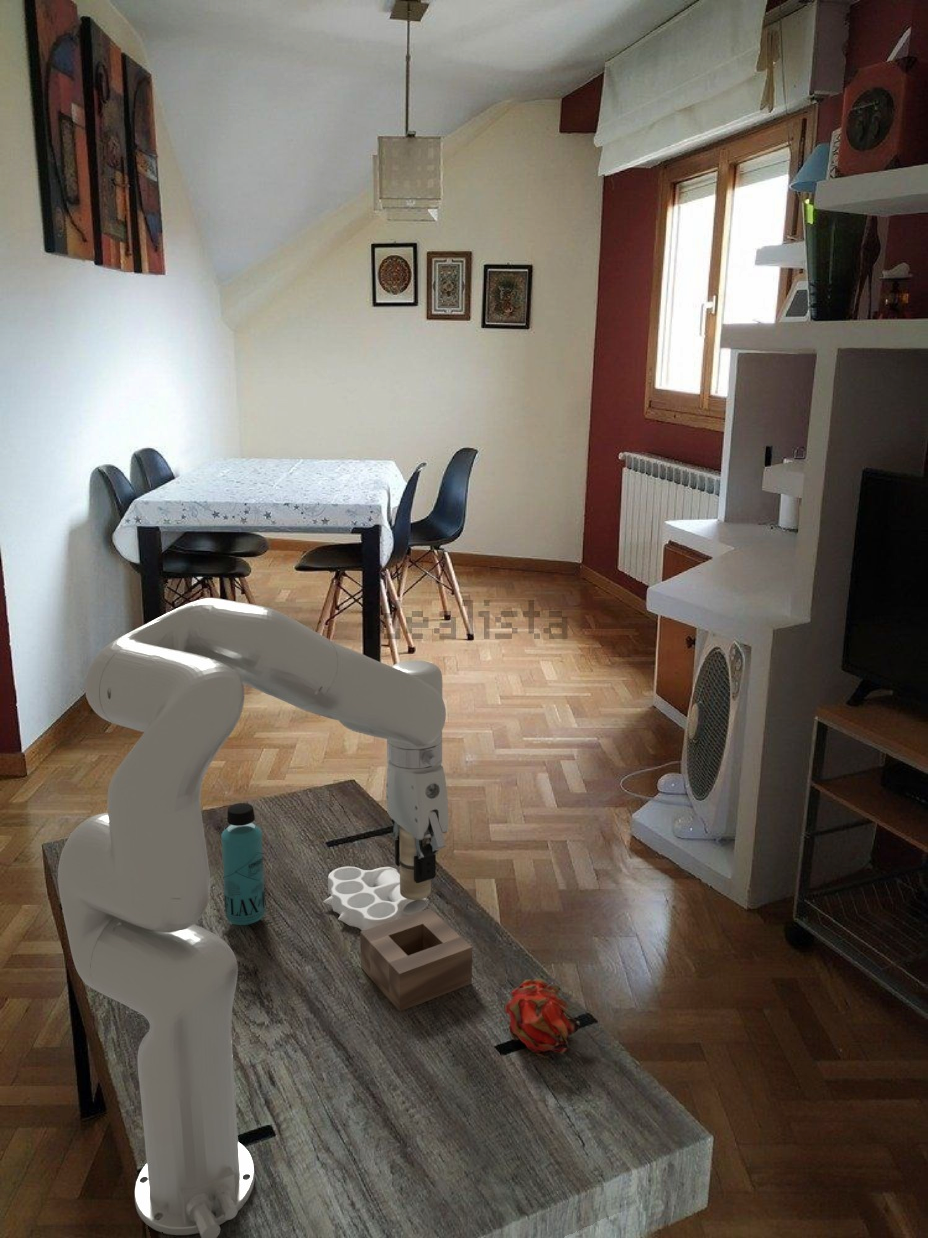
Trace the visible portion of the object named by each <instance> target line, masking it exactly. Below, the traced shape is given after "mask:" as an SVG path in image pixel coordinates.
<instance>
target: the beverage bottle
mask: <svg viewBox="0 0 928 1238" xmlns="http://www.w3.org/2000/svg"><path fill="white" fill-rule="evenodd" d="M254 811H255V810H254V806H253V805H252V804H251V803H245V802H238V803H235V804H232V805H230V806H229V807H228V809H227V816H226V820H227V821H226V822H227V824H229V825H228V826H227V827H226V829H224V830H223V831H222V832H221V835H220V839H221V851H222V871H223V873H222V876H223V877H222V883H223V890H222V891H223V902H224V903H223V910H224V911H223V912H224V916H225V918H226V919H227V921H228V922H229V923H231V924H233V925H237V926H245V925H246V926H247V925H251V924H254V923H256V922H258V921H260V920H262V919H263V917H264V916H265V914H266V906H267V905H266V904H267V902H266V891H265V876H264V873H265V872H264V869H265V866H264V865H265V864H264V861H265V860H264V853H263V831H262V829H261V828H260V826H258V825H256V824H255V823H253V822H254V821H255V812H254Z"/></svg>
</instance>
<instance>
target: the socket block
mask: <svg viewBox="0 0 928 1238" xmlns="http://www.w3.org/2000/svg"><path fill="white" fill-rule="evenodd" d="M359 933H360V934H359V936H360V937H359V938H360V939H359V940H360V968H361V970H363V972H364V974H366V975H367V976H368V977H369V978H370V980H371V981H372V982H373V983H374V984H375V985H376V987H377V988H378V989H380V991H381V992H382V993H383V994H384V995H385V996H386V998H387V1000H389V1002H390V1003H392V1005H393V1006H394V1007H395V1008H396V1009H397V1010H398V1011H399V1012H403V1011H405V1010H407V1009H411V1008H412V1007H416V1006H418V1005H420V1004H424V1003H425V1002H429V1001H431V1000H433V999H436V998H438V997H441V996H444V995H446V994H449V993H451V992H454V991H456V990H459V989H461V988H464V987H466V986H469V985H472V983H473V982H472V981H473V973H472V972H473V947H472V945H471V944H470V943H468V942H467V941H466V940H465V939H464V938H463V937H462V936H461V935H459V934H458V933H457V932H456V930H454V929H453V928H452V927H451V926H450V924H448V923H446V922H445V920H443V919H442V917H441V916H439V915H438V914H437V913H436V912H434V911H433V910H432V909H431V908H427V909H426V908H425V909H424V910H422V911H420V912H417V913H414V914H411V915H408V916H405V917H402V918H400V919H397V920H394V921H391V922H388V923H385V924H382V925H379V926H376V927H373V928H370V929H367V930H364V931H362V930H361V931H359Z"/></svg>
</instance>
